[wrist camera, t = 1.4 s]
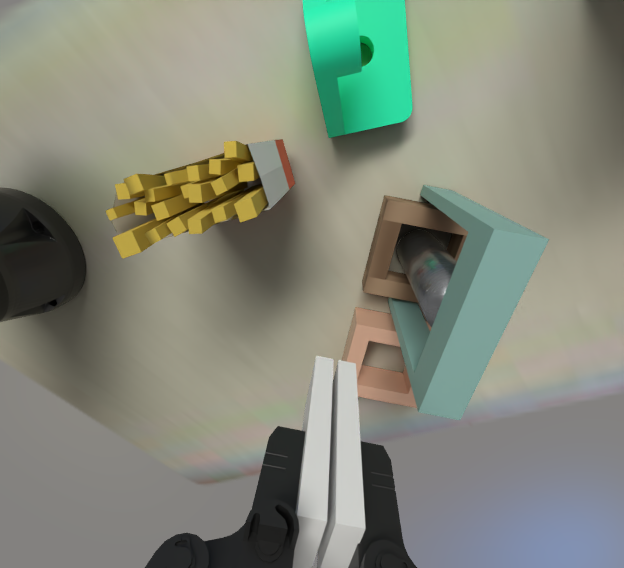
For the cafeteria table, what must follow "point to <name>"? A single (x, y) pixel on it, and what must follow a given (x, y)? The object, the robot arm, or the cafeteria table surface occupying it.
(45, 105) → the cafeteria table surface
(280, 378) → the cafeteria table surface
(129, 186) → the french fries container
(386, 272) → the socket block
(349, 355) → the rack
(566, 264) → the cafeteria table surface
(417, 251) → the metal cylinder
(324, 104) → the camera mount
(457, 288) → the teal green arch
